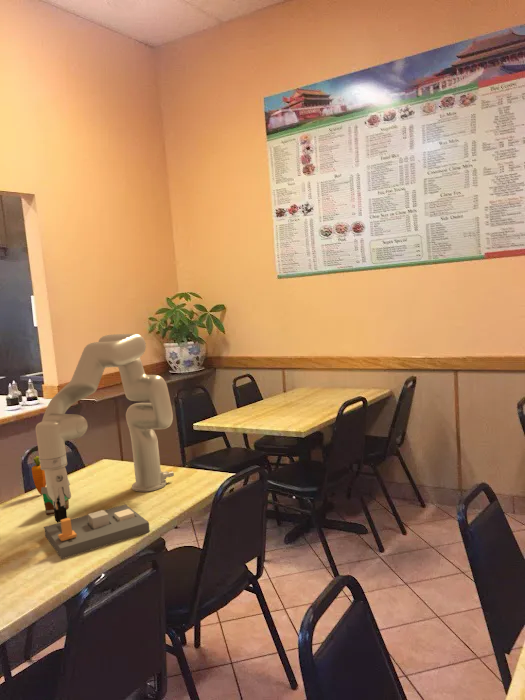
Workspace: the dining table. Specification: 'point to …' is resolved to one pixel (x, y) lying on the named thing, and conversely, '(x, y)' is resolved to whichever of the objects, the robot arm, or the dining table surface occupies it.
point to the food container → (51, 501)
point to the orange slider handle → (66, 530)
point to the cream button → (124, 515)
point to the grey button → (98, 519)
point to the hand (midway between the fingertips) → (61, 520)
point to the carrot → (38, 475)
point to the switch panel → (95, 532)
